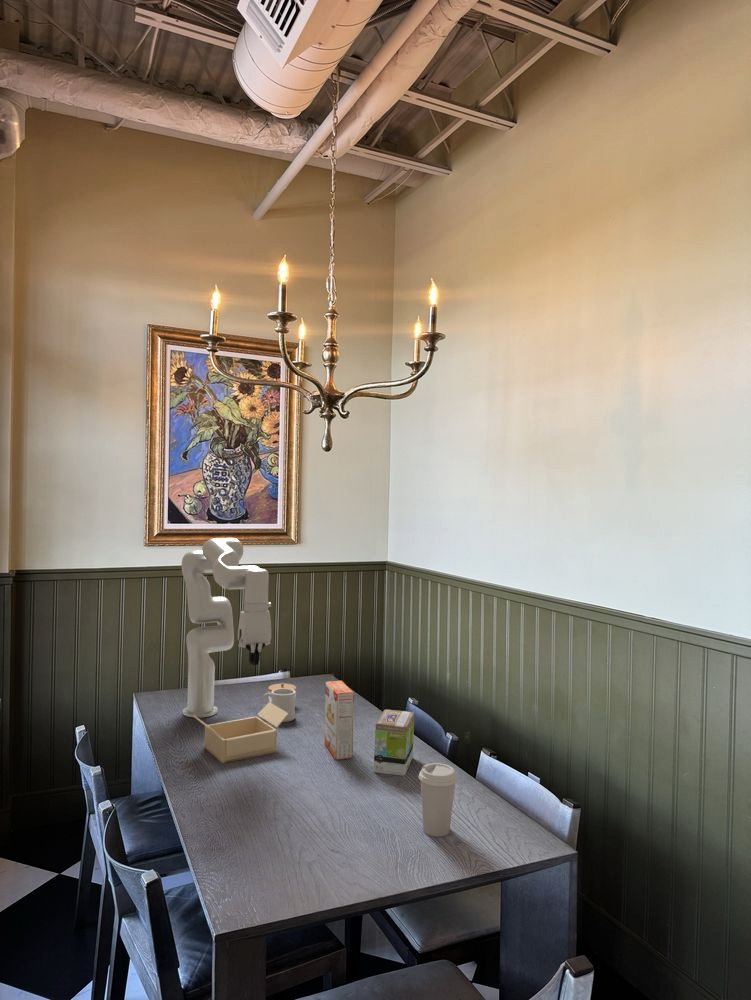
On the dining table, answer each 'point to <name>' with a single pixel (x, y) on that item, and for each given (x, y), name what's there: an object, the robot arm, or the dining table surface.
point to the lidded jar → (282, 685)
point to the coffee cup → (437, 797)
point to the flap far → (273, 714)
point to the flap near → (207, 726)
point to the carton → (240, 739)
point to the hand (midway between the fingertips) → (254, 663)
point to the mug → (283, 701)
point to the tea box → (394, 742)
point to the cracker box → (339, 719)
